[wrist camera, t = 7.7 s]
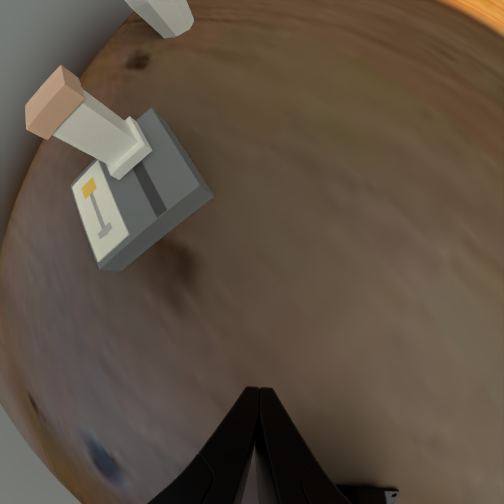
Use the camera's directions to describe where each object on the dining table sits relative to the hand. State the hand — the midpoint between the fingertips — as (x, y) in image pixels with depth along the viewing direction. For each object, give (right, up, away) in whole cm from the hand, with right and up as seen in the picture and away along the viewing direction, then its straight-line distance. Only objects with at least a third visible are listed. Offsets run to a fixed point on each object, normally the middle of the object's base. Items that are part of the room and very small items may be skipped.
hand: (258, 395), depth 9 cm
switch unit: (-10, +10, +17) cm, 22 cm away
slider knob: (-11, +13, +14) cm, 22 cm away
